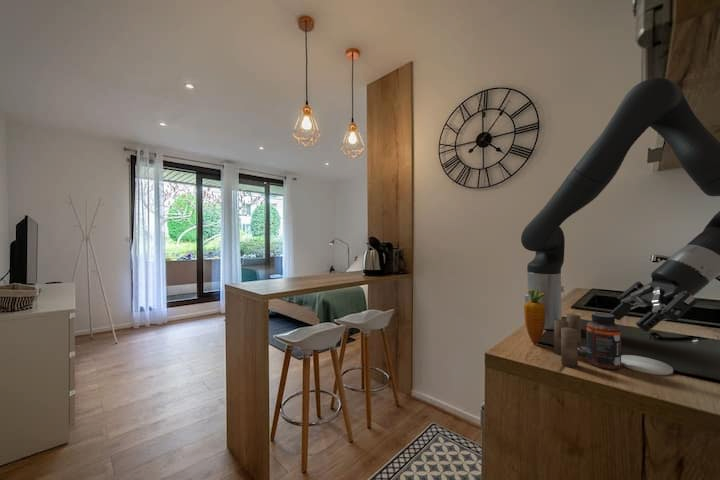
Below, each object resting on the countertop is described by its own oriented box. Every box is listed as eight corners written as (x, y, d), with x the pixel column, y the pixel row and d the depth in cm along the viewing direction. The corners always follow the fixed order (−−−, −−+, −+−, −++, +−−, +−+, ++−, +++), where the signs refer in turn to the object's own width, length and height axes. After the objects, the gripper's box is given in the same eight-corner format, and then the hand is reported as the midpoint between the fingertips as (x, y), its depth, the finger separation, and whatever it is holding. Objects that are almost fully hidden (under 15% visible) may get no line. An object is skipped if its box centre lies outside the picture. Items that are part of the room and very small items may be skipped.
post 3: (558, 363, 67) (558, 328, 67) (567, 361, 68) (566, 326, 68) (572, 369, 64) (571, 332, 64) (581, 366, 65) (580, 330, 65)
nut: (569, 349, 75) (569, 344, 75) (585, 350, 75) (585, 346, 75) (580, 356, 71) (581, 351, 71) (597, 357, 71) (598, 352, 71)
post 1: (551, 352, 73) (551, 320, 73) (559, 350, 75) (558, 318, 75) (563, 356, 71) (563, 323, 71) (571, 354, 72) (571, 321, 72)
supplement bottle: (628, 371, 63) (627, 318, 62) (596, 369, 64) (595, 317, 64) (610, 360, 68) (609, 311, 68) (581, 358, 70) (580, 310, 70)
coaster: (607, 361, 67) (607, 359, 67) (629, 355, 71) (629, 352, 71) (659, 378, 59) (659, 375, 59) (682, 370, 63) (682, 367, 63)
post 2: (564, 344, 78) (563, 314, 78) (571, 343, 80) (570, 313, 80) (576, 348, 76) (575, 317, 76) (583, 346, 77) (583, 316, 77)
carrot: (536, 340, 82) (535, 286, 82) (550, 347, 77) (549, 289, 77) (520, 341, 81) (519, 287, 81) (533, 348, 76) (532, 290, 76)
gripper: (647, 256, 70) (593, 303, 73) (704, 260, 56) (635, 318, 59) (673, 278, 69) (618, 325, 72) (738, 289, 55) (667, 346, 58)
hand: (626, 322), depth 65 cm, fingers open, 8 cm apart
